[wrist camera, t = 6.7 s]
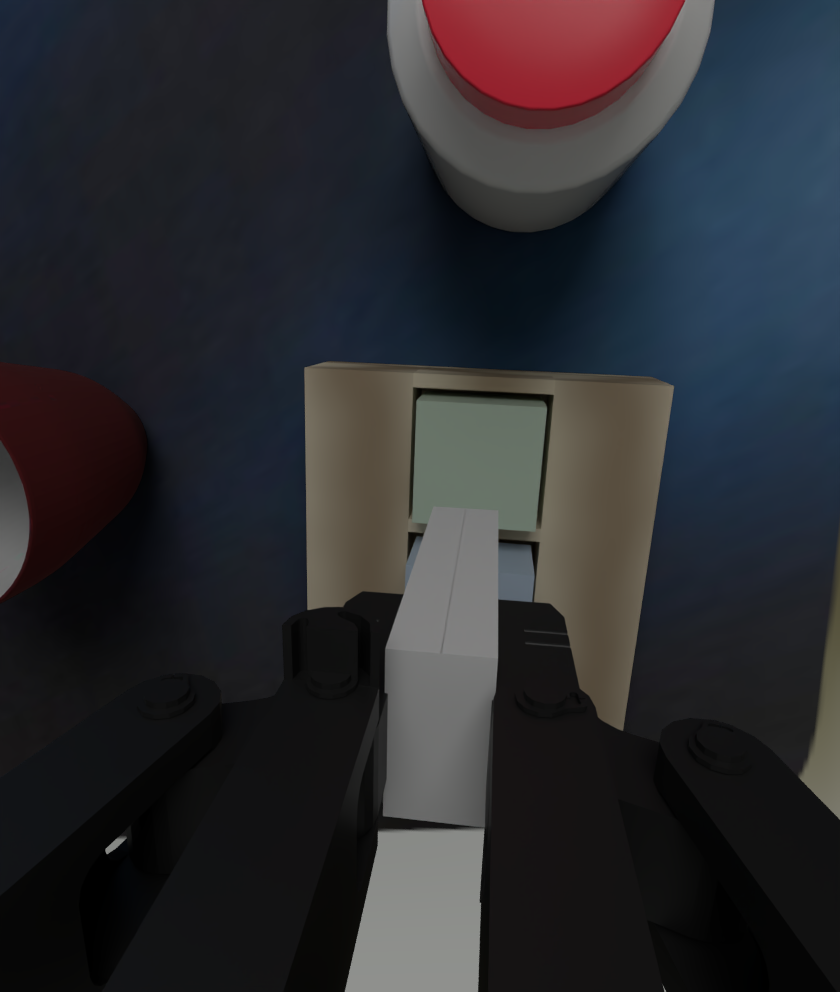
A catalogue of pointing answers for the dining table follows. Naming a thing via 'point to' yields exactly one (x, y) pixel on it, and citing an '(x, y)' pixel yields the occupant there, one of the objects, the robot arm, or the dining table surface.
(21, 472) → the mug
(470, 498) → the tile sage
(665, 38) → the pill bottle
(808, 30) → the dining table surface
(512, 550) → the tile slate
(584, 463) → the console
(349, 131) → the dining table surface
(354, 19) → the dining table surface
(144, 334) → the dining table surface
